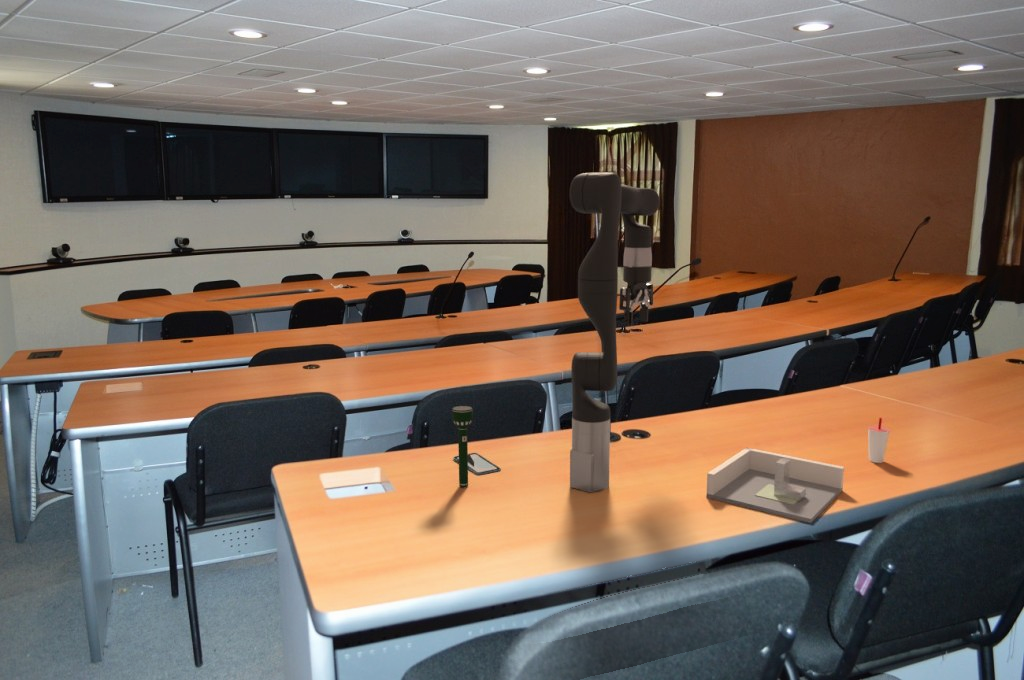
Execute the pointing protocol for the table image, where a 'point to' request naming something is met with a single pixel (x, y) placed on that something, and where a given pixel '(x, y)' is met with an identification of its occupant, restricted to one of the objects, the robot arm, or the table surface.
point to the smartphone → (479, 464)
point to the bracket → (786, 482)
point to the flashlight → (462, 439)
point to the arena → (754, 478)
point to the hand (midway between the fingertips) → (636, 323)
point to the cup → (877, 442)
